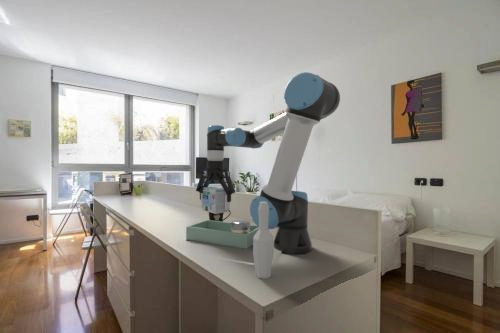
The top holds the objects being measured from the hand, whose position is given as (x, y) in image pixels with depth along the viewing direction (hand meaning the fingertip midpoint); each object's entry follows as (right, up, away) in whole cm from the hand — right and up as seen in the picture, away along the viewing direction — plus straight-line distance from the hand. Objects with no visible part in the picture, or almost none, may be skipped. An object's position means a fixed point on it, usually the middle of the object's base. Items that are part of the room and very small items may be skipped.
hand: (214, 208), depth 115 cm
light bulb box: (0, -2, 0) cm, 2 cm away
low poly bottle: (+20, -14, -38) cm, 45 cm away
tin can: (+12, -13, -6) cm, 18 cm away
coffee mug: (-1, -14, +23) cm, 27 cm away
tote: (+5, -14, -2) cm, 15 cm away
